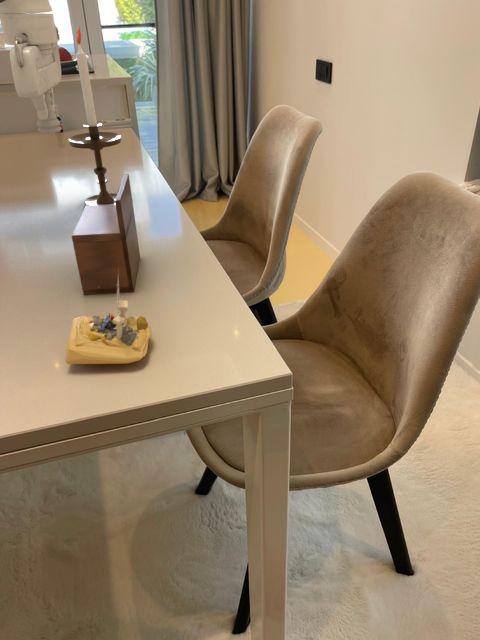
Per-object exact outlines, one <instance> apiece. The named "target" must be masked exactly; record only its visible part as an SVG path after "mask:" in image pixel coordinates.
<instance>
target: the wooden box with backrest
mask: <svg viewBox="0 0 480 640" xmlns="http://www.w3.org/2000/svg"><path fill="white" fill-rule="evenodd" d="M116 194H117V196H116V199H115V204H111V205H89V206H85V205H84V208H83V210H82V213H81V215H79V216H80V217H79V218H78V221H77V223H76V225H75V227H74V229H73V231H72V233H71V241H72V245H73V250H74V256H75V261H76V264H77V269H78V276H79V280H80V285H81V289H82V294H83V295H84V296H86V295H103V294H117V285H118V276H119V285H118V288H119V294H120V293H121V294H122V293H135V289H136V284H137V278H138V273H139V272H138V271H139V266H140V261H141V252H140V245H139V238H138V231H137V224H136V216H135V210H134V209H135V208H134V202H133V195H132V189H131V182H130V174H129V173H124V174H123V176H122V179H121V182H120V185H119V187H118V191H117V193H116ZM98 286H99V287H100V288H98Z"/></svg>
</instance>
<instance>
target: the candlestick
mask: <svg viewBox="0 0 480 640" xmlns="http://www.w3.org/2000/svg"><path fill="white" fill-rule="evenodd" d="M76 34H77V36H76V43H77V44H78V45H77V52H76V53H75V56H76V61H77V62H76V63H77V68H78V74H79V79H80V85H81V92H82V97H83V104H84V109H85V115H86V121H87V123H84V124H82V126H83V127H87V130H88V132H85V133H79V134H75V135H71V136H70V137H69V138H68V143H69V144H68V145H69V147H72V148H75V149H86V150H87V149H89V150H90V151H93V154H94V160H95V167H94V168H93V172H94V174H95V175H96V176H97V179H96V184H98V185H99V189H100V192H99V194H95V195H94V194H93V195H91V196H89V197H87V198H86V199H84V206H85V205H86V206H89V205H111V204H115V199H116V196H117V193H110V192H109V191H108V189H107V185H106V184H107V183H108V182H109V181H108V179H106V174H107V171H108V169H107V167H105V166H103V159H102V154H101V153H102V152H101V150H103V149H104V148H109V147H113V146H116V145H120V144H121V143H122V135H121V134H120V133H116V132H110V131H99V127H100V126H102V125H103V123H102V122H98V120H97V115H96V108H95V103H94V96H93V90H92V84H91V78H90V77H91V76H90V72H89V66H88V59H87V52H84V50H83V48H82V44H81V43H82V42H81V41H82V33H81V27H80V26H78V29H77V31H76Z"/></svg>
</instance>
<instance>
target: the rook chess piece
mask: <svg viewBox="0 0 480 640" xmlns="http://www.w3.org/2000/svg"><path fill="white" fill-rule="evenodd" d="M50 93H51V90H48V91H47V92H45V93H44V95H45V103H46V107H47V108H48V111H49V118H48V119H46V120H40V119H39V118H38V117H37V121H36V126H37V127H38V128H37V131H38V133H40V134H45V135H48V134H49V135H50V134H57V133H60V132H62V131H61V130H62V127H61V126H60V125H61V121H60V120H59V119H58V117H57V116H56V114H55V113H54V111H53V108H52V105H51V99H50Z"/></svg>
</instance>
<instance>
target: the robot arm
mask: <svg viewBox="0 0 480 640" xmlns="http://www.w3.org/2000/svg"><path fill="white" fill-rule="evenodd" d="M0 25H1V30H2V35H3V38H4V43H5V45H7V46H13V47H11V48H10V50H9V60H10V67H11V73H12V79H13V85H14V89H15V91H16V94H17V96H18V97H19V98H21V99H23V98H24V99H28V98H29V99H31V102H32V105H33V107H34V108H35V111H36V115H37V119H38V118H39V119H40V120H46V119H48V118H49V111H48V108H47V107H46V103H45V95H44V93H45V92H47V91H48V90H51V93H50V99H51V105H52V108H53V111H54V114H55V113H56V109H55V102H54V100H55V98H54V97H55V96H54V95H55V94H54V93H55V92H54V87H56V86H57V85H59V84H60V83H61V82H62V66H61V65H62V64H61V58H60V56H61V55H60V49H59V44H58V43H59V41H60V32H59V28H58V27H57V25H56V22H55V18H54V12H53V8H52V6H51V4H50V0H0Z"/></svg>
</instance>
